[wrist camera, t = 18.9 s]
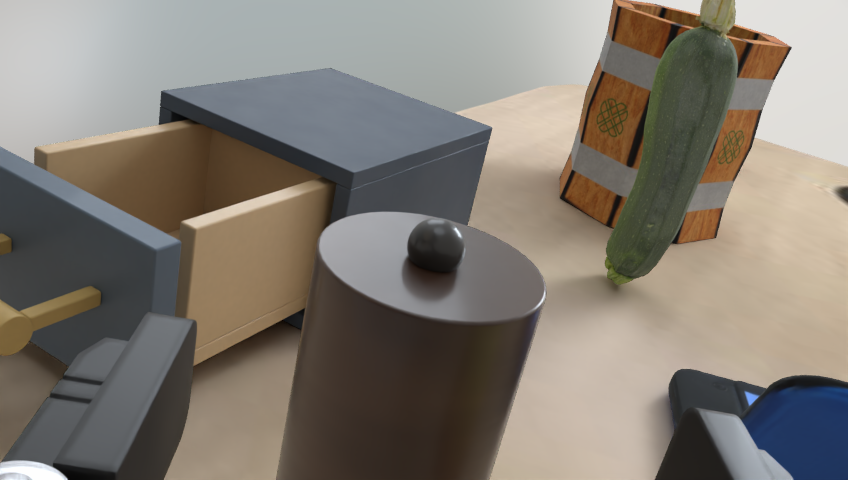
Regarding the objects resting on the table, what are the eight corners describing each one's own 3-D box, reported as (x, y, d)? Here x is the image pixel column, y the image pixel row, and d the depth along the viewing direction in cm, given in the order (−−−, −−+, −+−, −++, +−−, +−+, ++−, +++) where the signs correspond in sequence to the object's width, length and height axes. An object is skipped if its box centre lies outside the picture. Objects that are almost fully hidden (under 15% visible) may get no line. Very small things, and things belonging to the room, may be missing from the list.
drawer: (37, 473, 26) (40, 289, 23) (-144, 336, 30) (-161, 166, 27) (344, 304, 39) (369, 176, 37) (191, 226, 44) (203, 106, 41)
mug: (696, 261, 57) (777, 53, 51) (527, 194, 63) (582, -1, 56) (746, 201, 73) (812, 38, 67) (608, 152, 79) (658, -3, 73)
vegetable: (668, 297, 50) (794, -29, 42) (633, 312, 47) (760, -36, 39) (610, 266, 53) (718, -48, 45) (573, 278, 50) (682, -55, 42)
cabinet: (322, 342, 38) (354, 172, 34) (148, 248, 42) (160, 90, 39) (458, 261, 49) (493, 127, 45) (309, 194, 53) (330, 67, 50)
